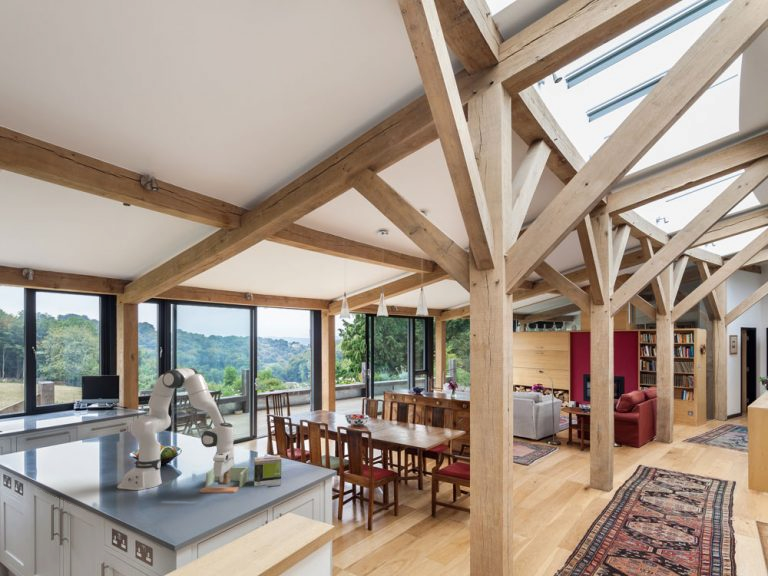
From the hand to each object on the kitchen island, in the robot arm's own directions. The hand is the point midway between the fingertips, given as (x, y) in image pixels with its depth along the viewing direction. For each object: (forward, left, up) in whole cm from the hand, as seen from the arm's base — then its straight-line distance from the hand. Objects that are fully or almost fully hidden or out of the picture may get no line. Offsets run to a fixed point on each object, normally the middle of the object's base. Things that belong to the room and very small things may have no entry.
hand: (224, 479), depth 240 cm
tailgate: (-2, +4, -5) cm, 7 cm away
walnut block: (0, 0, -2) cm, 2 cm away
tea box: (+20, +14, -7) cm, 25 cm away
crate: (-2, +11, -7) cm, 13 cm away
